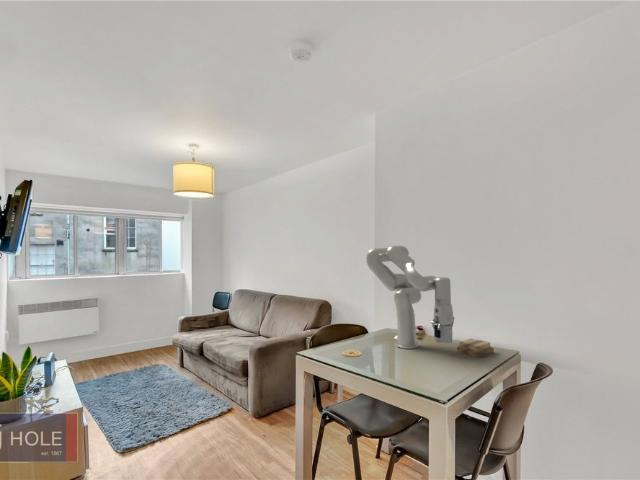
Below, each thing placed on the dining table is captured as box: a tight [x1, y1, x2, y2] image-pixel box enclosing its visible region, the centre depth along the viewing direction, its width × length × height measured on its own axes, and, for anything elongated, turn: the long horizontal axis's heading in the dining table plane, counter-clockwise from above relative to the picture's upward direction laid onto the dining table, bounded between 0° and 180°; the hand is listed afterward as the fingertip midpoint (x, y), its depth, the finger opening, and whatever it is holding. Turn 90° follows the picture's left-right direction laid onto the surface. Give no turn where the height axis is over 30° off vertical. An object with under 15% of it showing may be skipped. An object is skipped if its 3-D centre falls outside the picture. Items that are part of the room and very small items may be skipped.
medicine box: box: [433, 324, 453, 344], centre depth 162 cm, size 8×4×9 cm, turn 84°
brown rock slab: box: [456, 338, 495, 359], centre depth 161 cm, size 12×12×5 cm
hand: (443, 335), depth 162 cm, fingers closed on medicine box, 8 cm apart
